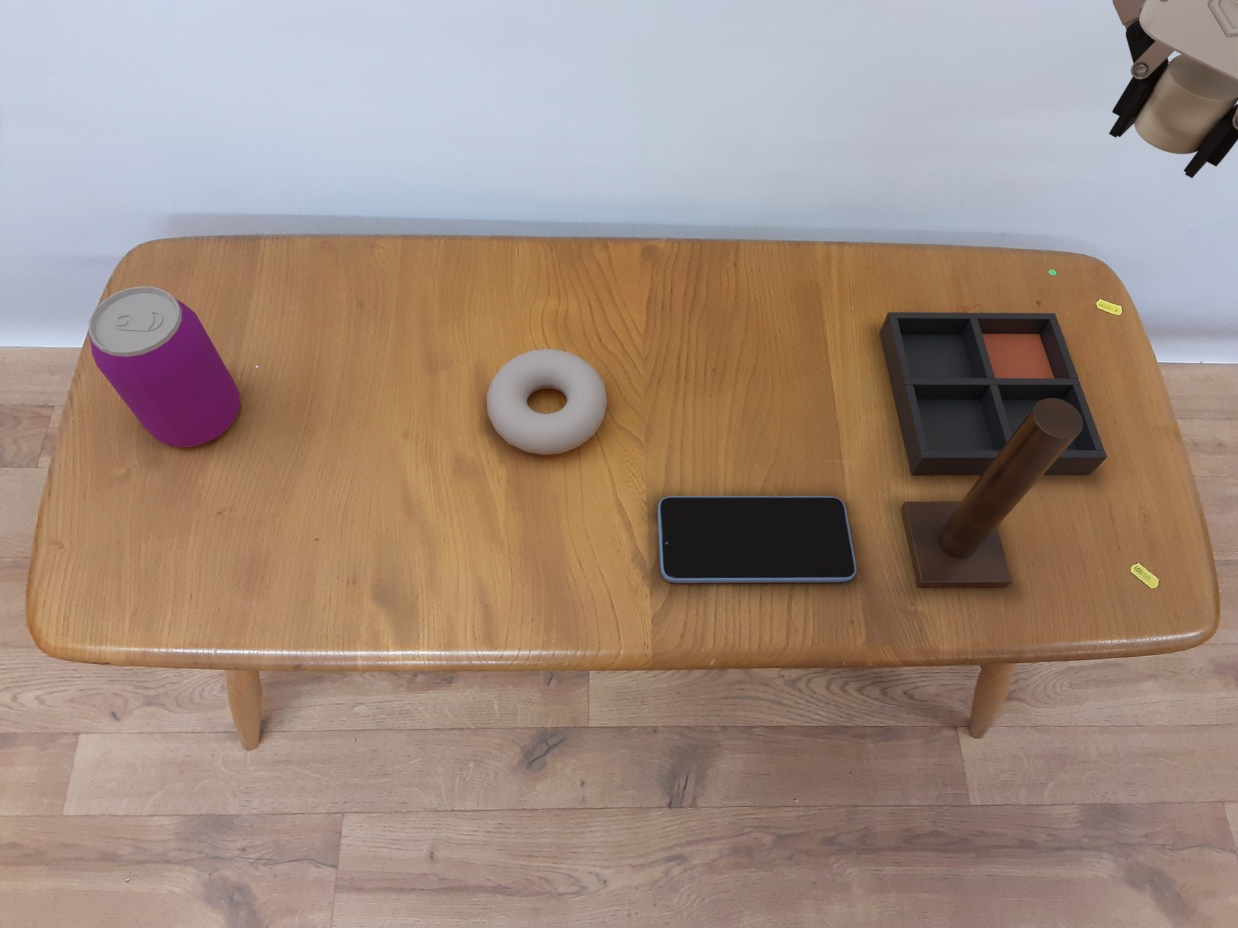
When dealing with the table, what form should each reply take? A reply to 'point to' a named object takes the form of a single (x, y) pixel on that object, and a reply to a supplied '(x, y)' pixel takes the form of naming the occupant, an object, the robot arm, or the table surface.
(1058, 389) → the grid
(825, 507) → the smartphone
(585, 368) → the donut
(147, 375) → the beverage can
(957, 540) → the stand
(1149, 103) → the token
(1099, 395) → the table surface
